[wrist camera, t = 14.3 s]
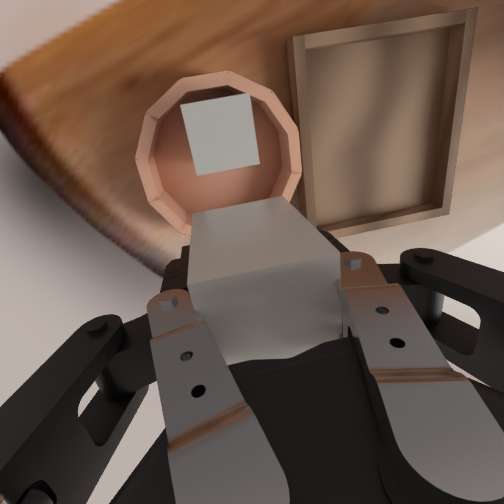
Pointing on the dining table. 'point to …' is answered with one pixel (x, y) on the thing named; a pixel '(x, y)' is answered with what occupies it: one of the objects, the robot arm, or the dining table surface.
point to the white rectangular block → (263, 280)
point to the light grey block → (221, 133)
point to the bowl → (224, 182)
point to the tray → (380, 119)
